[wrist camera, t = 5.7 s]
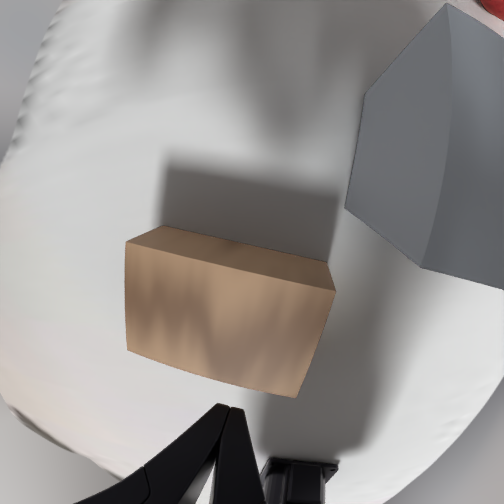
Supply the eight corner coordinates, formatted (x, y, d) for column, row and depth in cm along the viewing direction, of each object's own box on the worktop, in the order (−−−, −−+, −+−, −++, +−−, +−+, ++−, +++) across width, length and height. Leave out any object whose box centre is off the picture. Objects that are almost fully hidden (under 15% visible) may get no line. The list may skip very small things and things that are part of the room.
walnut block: (297, 398, 12) (127, 350, 13) (299, 352, 16) (158, 316, 17) (338, 291, 10) (125, 241, 11) (327, 261, 14) (164, 224, 15)
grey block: (413, 226, 13) (530, 297, 4) (343, 207, 13) (419, 267, 4) (432, 119, 11) (554, 83, 2) (364, 94, 11) (446, 2, 3)
